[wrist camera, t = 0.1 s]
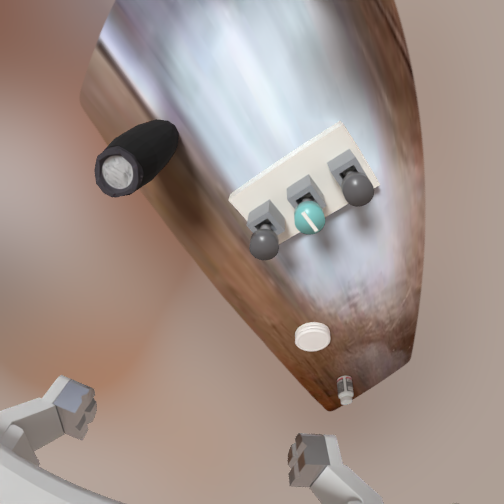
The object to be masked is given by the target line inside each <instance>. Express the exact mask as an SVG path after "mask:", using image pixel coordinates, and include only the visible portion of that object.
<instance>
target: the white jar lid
mask: <svg viewBox="0 0 504 504" xmlns="http://www.w3.org/2000/svg"><path fill="white" fill-rule="evenodd" d="M330 340H331V337H330V330H329V328H328V327H327V326H326V325H325V324H323V323H319V322H309V323H305V324H303V325H301V326H300V327H298V328H297V330H296V332H295V343H296V345H297V347H299V348H300V349H302V350H305V351H318V350H321V349H323V348H325V347H326V346H327V345H328V344H329V343H330Z"/></svg>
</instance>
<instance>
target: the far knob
mask: <svg viewBox="0 0 504 504" xmlns="http://www.w3.org/2000/svg"><path fill="white" fill-rule="evenodd" d="M278 249H279V239H278V236H277V234H276V233H275V232H274V231H272V230H271V226H270V225H268V224H263V225H262V226H261V227H260V229H259V230H257V231H255V232H254V233H253V234H252V236H251V241H250V252H251V254H252V255H253V256H254V257H255V258H257V259H260V260H269V259H272V258H274V257H275V256H276V255H277V253H278Z"/></svg>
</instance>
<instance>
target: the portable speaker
mask: <svg viewBox="0 0 504 504" xmlns="http://www.w3.org/2000/svg"><path fill="white" fill-rule="evenodd" d="M177 144H178V131H177V129H176V127H175V125H173V124H172V123H170V122H169V121H164V120H153V121H149V122H146V123H143V124H140V125H137V126H135V127H134V128H132V129H130V130H128V131H127V132H125V133H123V134H122V135H120V136H118V137H117V138H115V139H114V140H113V141H112V142H111V143H110V144H109V145H108V147H107V148H106V149H105V150H104V151H103V152H102V153H101V154H100V155H98V157H97V160H96V165H95V177H96V184H97V185H98V186H99V187H100V189H101V190H102V191H103V192H104V193H105V194H107V195H109V196H111V197H119V196H125V195H130V194H132V193H133V192H135V191H136V190H138V189H139V188H141V187H142V186H144V185H145V184H147V183H148V182H150V181H151V180H152V179H153V178H154V177H155V176H156V175H157V174H158V173H159V172H160V171H161V170H162V169H163V168H164V167H165V165H166V164H167V163H168V162H169V160H170V159H171V157H172V155H173V154H174V152H175V150H176V148H177Z"/></svg>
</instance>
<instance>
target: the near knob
mask: <svg viewBox="0 0 504 504" xmlns="http://www.w3.org/2000/svg"><path fill="white" fill-rule="evenodd" d="M341 190H342V193H343V195H344V197H345V200H346V201H347V202H348V203H349V204H351V205H353V206H363V205H365V204H367V203H368V202H370V201H371V199H372V197H373V195H374V187H373V185H372V183H371V182H370V180H369V179H368V177H367V176H366V175H365V174H363V173H361V172H353V171H349V172H347V173H346V175H345V177H344V179H343V180H342V183H341Z"/></svg>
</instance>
